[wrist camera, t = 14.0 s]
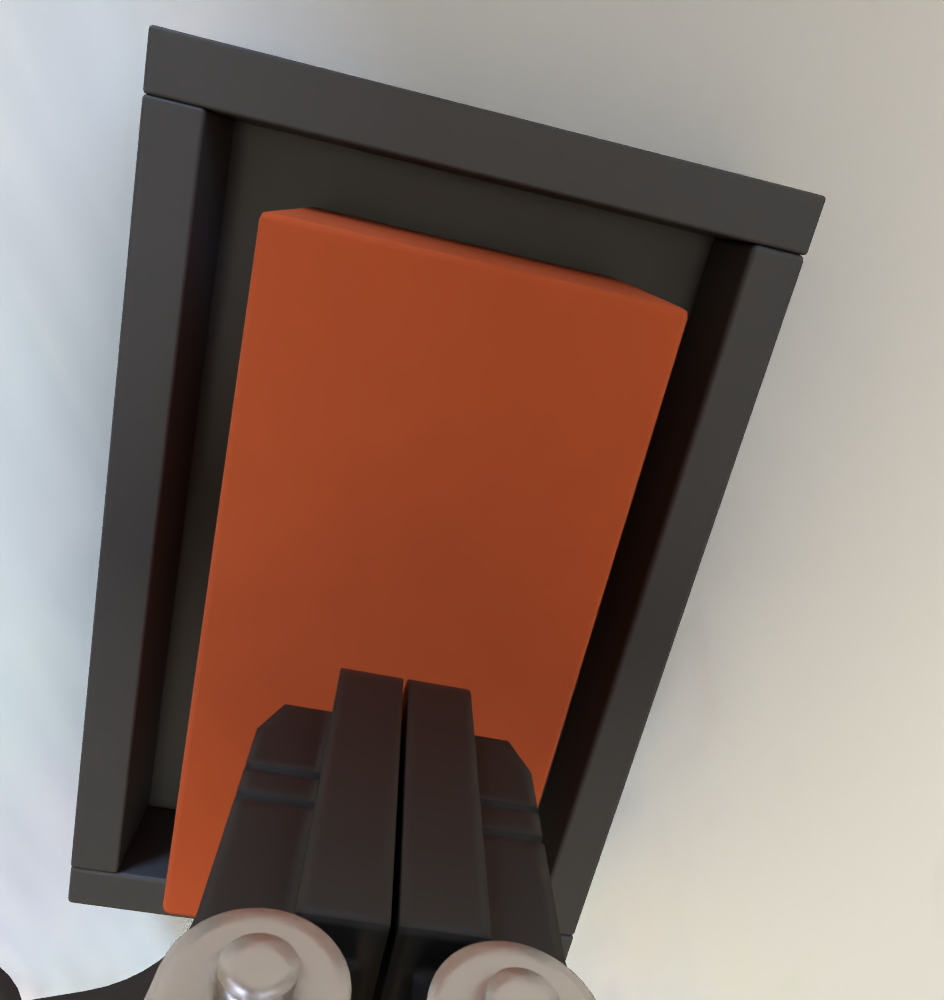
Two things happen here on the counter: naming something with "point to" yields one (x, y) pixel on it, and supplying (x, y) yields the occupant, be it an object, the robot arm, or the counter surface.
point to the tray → (214, 367)
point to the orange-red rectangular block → (413, 489)
